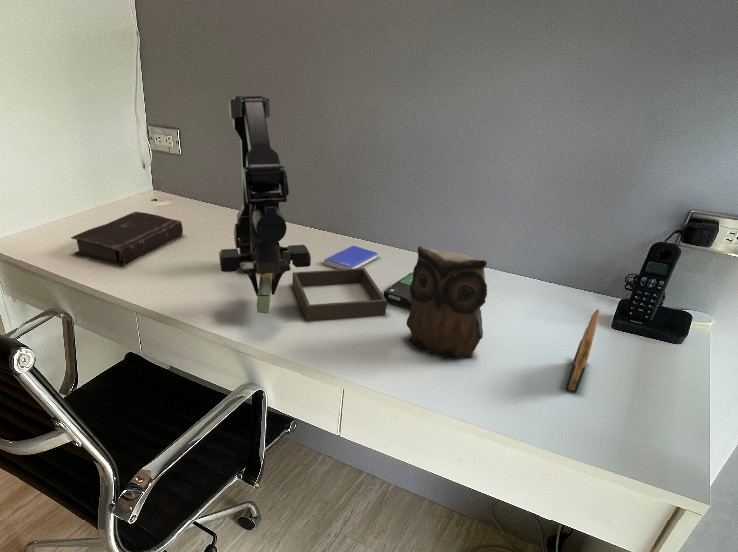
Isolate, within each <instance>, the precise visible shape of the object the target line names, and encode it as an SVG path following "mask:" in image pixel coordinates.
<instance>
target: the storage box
mask: <svg viewBox="0 0 738 552" xmlns="http://www.w3.org/2000/svg"><path fill="white" fill-rule="evenodd" d="M291 281H292V283H291V285H292V288H293V291H294V293H295V296H296V298H297V301H298V303H299V305H300V308H301V310H302V314H303V316H304V318H305V320H306V322H309V321H310V322H311V321H324V320H338V319H351V318H364V317H378V316H386V313H387V312H386V311H387V306H388V305H387V304H388V301H387V300H386V299H385V297H384V296H383V295H384V293H383V292H382V291H381V290H380V288H379V287H378V285H377V284H376V283H375V281H374V279H373V278H372V276H370V274H369V272H368V271H367V270H366V268H365V267H359V268H355V269H326V270H325V269H324V270H311V271H294V272H292V280H291ZM345 284H346V285H347V284H361V285H362V287H363V288H364V289H365V291H366V293H367V294H368V296H369V298H370V299H369V300H356V301H343V302H342V301H341V302H332V303H331V302H327V303H316V304H315V303H314V304H310V302H309V299H308V296H307V294H306V292H305V290H304V288H303V287H315V286H331V285H345Z"/></svg>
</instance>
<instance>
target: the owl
mask: <svg viewBox="0 0 738 552" xmlns="http://www.w3.org/2000/svg"><path fill="white" fill-rule="evenodd" d="M487 265H488V262H487V260H485V259H480V258H477V257H472V256H469V255H467V254H463V253H456V252H453V251H449V250H440V249H431V248H425V247H424V246H423V245H419V246H418V247H417V260H416V264H415V265H414V267H413V271H412V272H413V281H412V282H411V286H410V294H411V298H412V306H411V308H410V309H409V314H408V317H407V320H406V327H408V329H409V331H410V334H411V335H410V337H409V338H408V340H407V342H408V343H410V345H411V346H413V347H414V349H416V350H418V351H422V352H429V354H430V355H436V356H441V357H442V358H443V359H465V358H467V359H471V358H473V353H474V351H475V350H476V348H477V347H478V345H479V343H480V341H481V340H482V339H483V336H484V330H483V318H482V310H481V308H482V306H484V305H485V304H486V298H487V296H488V284H487V282H486V273H485V268H486V267H487Z"/></svg>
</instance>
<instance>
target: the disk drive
mask: <svg viewBox="0 0 738 552" xmlns="http://www.w3.org/2000/svg"><path fill="white" fill-rule="evenodd" d="M412 281H413V271H412V272H410V273H408V274H407V275H405V276H403V277H402V278H400V279H399V280H397V281H396V282H394V283H393V284H392V285H390V286H388V287H387V288H386V289H384V290H383V296H384V297H385V299H386V300H387V303H390V304H393V305H395V306H396V305H397V306H400V307H402V308H405V309H408V310H410V308H411V306H412V298H411V294H410V286H411V282H412Z"/></svg>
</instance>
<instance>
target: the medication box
mask: <svg viewBox="0 0 738 552" xmlns="http://www.w3.org/2000/svg"><path fill="white" fill-rule="evenodd" d="M271 282H272V273H266V274H259V281H258V295H257V296H256V312H257V313H261V314H269V313H270V306H271V296H272V292H271Z"/></svg>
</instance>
